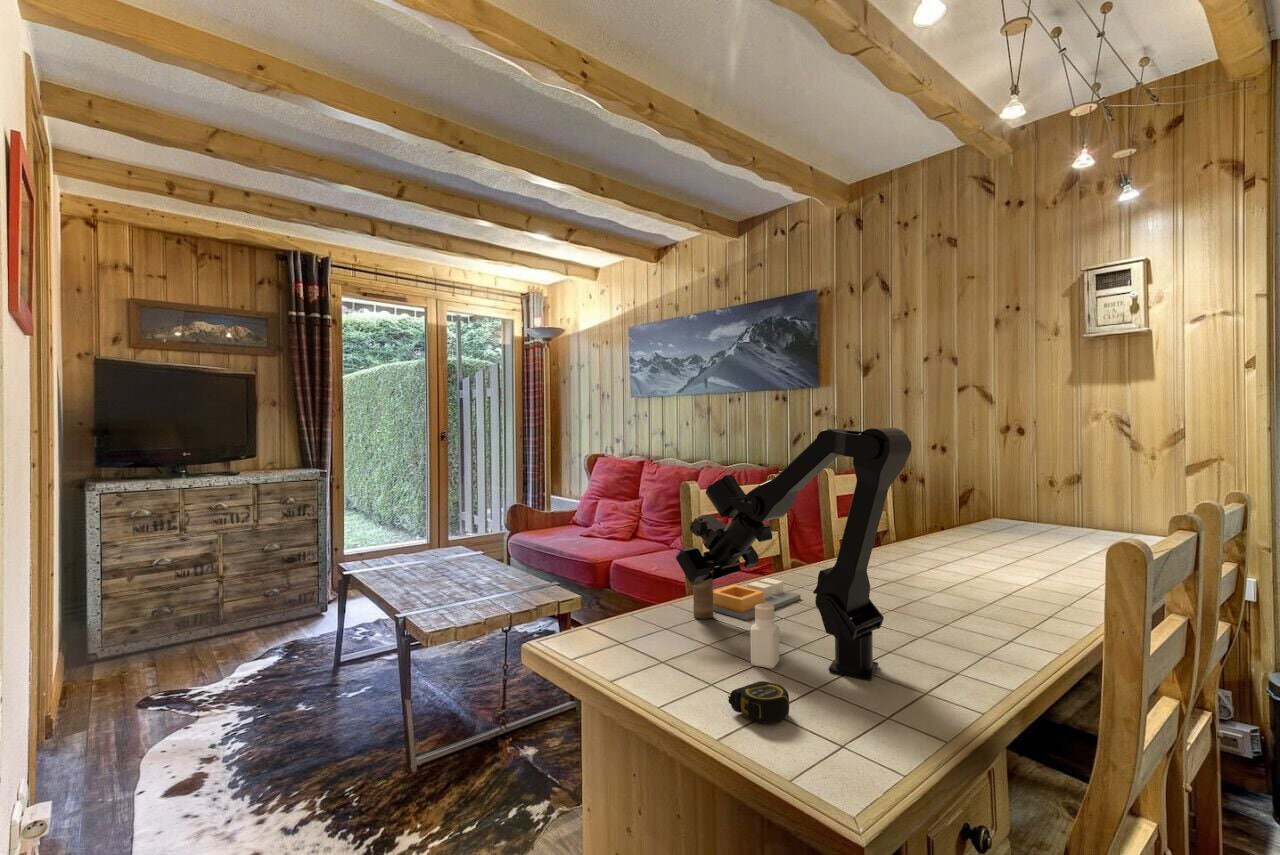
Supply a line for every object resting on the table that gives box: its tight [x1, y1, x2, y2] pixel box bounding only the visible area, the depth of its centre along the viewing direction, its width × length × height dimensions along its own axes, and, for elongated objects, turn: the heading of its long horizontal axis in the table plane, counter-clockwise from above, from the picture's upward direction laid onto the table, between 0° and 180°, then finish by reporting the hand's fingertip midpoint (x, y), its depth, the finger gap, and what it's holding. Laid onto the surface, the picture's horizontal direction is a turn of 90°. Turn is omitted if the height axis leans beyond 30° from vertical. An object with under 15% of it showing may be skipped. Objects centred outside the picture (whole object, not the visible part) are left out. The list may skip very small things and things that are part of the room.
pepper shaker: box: [750, 604, 780, 669], centre depth 98 cm, size 4×4×10 cm
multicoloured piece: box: [713, 577, 801, 621], centre depth 130 cm, size 20×12×4 cm, turn 134°
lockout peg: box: [692, 552, 714, 620], centre depth 121 cm, size 4×4×12 cm
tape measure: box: [727, 680, 790, 724], centre depth 81 cm, size 7×7×4 cm
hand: (698, 582), depth 123 cm, fingers closed on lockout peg, 4 cm apart
